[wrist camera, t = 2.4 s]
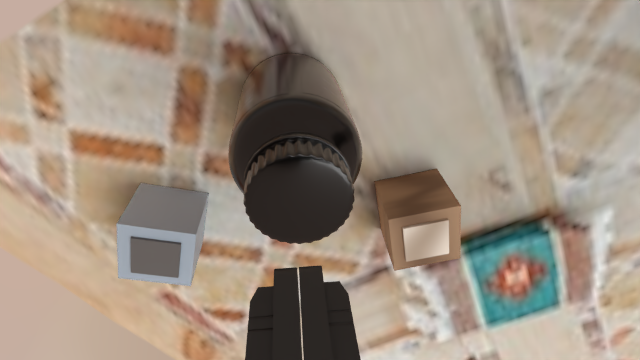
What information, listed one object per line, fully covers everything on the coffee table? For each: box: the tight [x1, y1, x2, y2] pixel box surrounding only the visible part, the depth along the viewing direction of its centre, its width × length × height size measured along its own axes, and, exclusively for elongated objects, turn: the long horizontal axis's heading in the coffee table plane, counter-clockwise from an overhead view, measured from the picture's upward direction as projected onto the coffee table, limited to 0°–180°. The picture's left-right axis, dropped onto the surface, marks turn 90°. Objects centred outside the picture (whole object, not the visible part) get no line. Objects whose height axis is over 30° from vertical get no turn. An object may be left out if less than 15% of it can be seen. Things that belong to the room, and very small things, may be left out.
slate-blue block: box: [117, 183, 209, 286], centre depth 29 cm, size 5×5×5 cm
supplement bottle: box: [229, 53, 362, 244], centre depth 21 cm, size 7×7×12 cm
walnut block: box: [374, 169, 461, 271], centre depth 30 cm, size 5×5×5 cm
